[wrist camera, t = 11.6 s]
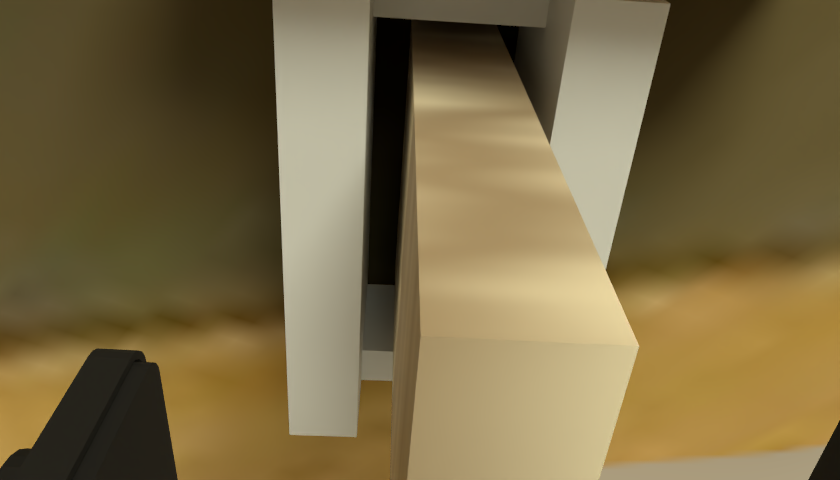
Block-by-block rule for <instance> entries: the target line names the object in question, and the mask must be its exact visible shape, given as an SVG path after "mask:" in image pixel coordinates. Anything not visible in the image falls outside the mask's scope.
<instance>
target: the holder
mask: <svg viewBox="0 0 840 480" xmlns="http://www.w3.org/2000/svg"><path fill="white" fill-rule="evenodd" d="M272 1H273V27H274V52H275V78H276V103H277V129H278V154H279V180H280V206H281V231H282V257H283V282H284V308H285V333H286V359H287V384H288V410H289V435H310V436H339V437H357V427H358V415H359V402H360V389H361V380H380V381H392V380H393V339H394V298H395V285H378V284H368V259H369V231H370V203H371V175H372V147H373V119H374V91H375V63H376V35H377V17H386V18H401V19H417V20H432V21H447V22H463V23H478V24H494V25H509V26H519V31H518V38H517V45H516V52H515V60H514V66H515V68H516V70H517V72H518V75H519V77H520V79H521V81H522V84H523V86H524V88H525V90H526V93H527V95H528V97H529V99H530V102H531V104H532V106H533V108H534V111H535V113H536V115H537V117H538V120H539V122H540V124H541V126H542V129H543V131H544V133H545V135H546V138H547V140H548V142H549V144H550V147H551V149H552V151H553V153H554V156H555V158H556V160H557V162H558V165H559V167H560V169H561V171H562V174H563V176H564V178H565V180H566V183H567V185H568V187H569V189H570V192H571V194H572V196H573V198H574V201H575V203H576V205H577V207H578V210H579V212H580V214H581V216H582V219H583V221H584V223H585V225H586V228H587V230H588V232H589V234H590V237H591V239H592V241H593V243H594V246H595V248H596V250H597V252H598V255H599V257H600V259H601V261H602V264H603V266H604V268H605V270H606V266H607V262H608V258H609V254H610V250H611V245H612V241H613V237H614V233H615V229H616V225H617V221H618V217H619V213H620V209H621V205H622V201H623V197H624V192H625V188H626V184H627V180H628V176H629V172H630V168H631V164H632V160H633V156H634V152H635V148H636V143H637V139H638V135H639V131H640V127H641V123H642V119H643V115H644V111H645V107H646V103H647V99H648V94H649V90H650V86H651V82H652V78H653V74H654V70H655V66H656V62H657V58H658V54H659V50H660V45H661V41H662V37H663V33H664V29H665V25H666V21H667V17H668V13H669V9H670V5H671V4H670V3H669V2H667V1H666V0H272Z"/></svg>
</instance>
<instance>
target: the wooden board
mask: <svg viewBox="0 0 840 480" xmlns="http://www.w3.org/2000/svg"><path fill="white" fill-rule="evenodd" d="M638 348H639V345H638V342H637V340H636V338H635V336H634V333H633V331H632V329H631V327H630V324H629V322H628V320H627V318H626V315H625V313H624V311H623V309H622V306H621V304H620V302H619V300H618V297H617V295H616V293H615V291H614V288H613V286H612V284H611V282H610V279H609V277H608V275H607V273H606V270H605V268H604V266H603V264H602V261H601V259H600V257H599V255H598V252H597V250H596V248H595V246H594V243H593V241H592V239H591V237H590V234H589V232H588V230H587V228H586V225H585V223H584V221H583V219H582V216H581V214H580V212H579V210H578V207H577V205H576V203H575V201H574V198H573V196H572V194H571V192H570V189H569V187H568V185H567V183H566V180H565V178H564V176H563V174H562V171H561V169H560V167H559V165H558V162H557V160H556V158H555V156H554V153H553V151H552V149H551V147H550V144H549V142H548V140H547V138H546V135H545V133H544V131H543V129H542V126H541V124H540V122H539V120H538V117H537V115H536V113H535V111H534V108H533V106H532V104H531V102H530V99H529V97H528V95H527V93H526V90H525V88H524V86H523V84H522V81H521V79H520V77H519V75H518V72H517V70H516V68H515V66H514V63H513V61H512V59H511V57H510V54H509V52H508V50H507V48H506V45H505V43H504V41H503V39H502V36H501V34H500V32H499V30H498V27H497V25H494V24H478V23H463V22H447V21H432V20H417V19H411V34H410V49H409V64H408V79H407V95H406V110H405V125H404V140H403V155H402V170H401V186H400V201H399V216H398V231H397V246H396V261H395V298H394V339H393V380H392V421H391V462H390V480H599V478H600V474H601V471H602V468H603V464H604V461H605V458H606V454H607V451H608V448H609V444H610V441H611V438H612V435H613V431H614V428H615V425H616V421H617V418H618V415H619V411H620V408H621V405H622V401H623V398H624V395H625V391H626V388H627V385H628V381H629V378H630V375H631V371H632V368H633V365H634V362H635V358H636V355H637V352H638Z"/></svg>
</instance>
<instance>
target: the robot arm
mask: <svg viewBox="0 0 840 480" xmlns="http://www.w3.org/2000/svg"><path fill="white" fill-rule="evenodd" d="M0 480H178V479H177V473H176V467H175V461H174V455H173V449H172V443H171V437H170V431H169V425H168V419H167V413H166V407H165V401H164V395H163V389H162V383H161V377H160V371H159V367H158V365H157V364H156V363H150V362H146V359H145V355H144V354H143V353H142V351H134V350H115V349H95V350H93V351H92V352H91V354H90V355H89V356H88V358H87V359H86V361H85V362H84V364H83V366H82V367H81V369H80V371H79V372H78V374H77V375H76V377H75V379H74V380H73V382H72V384H71V385H70V387H69V389H68V390H67V392H66V393H65V395H64V397H63V398H62V400H61V402H60V403H59V405H58V407H57V408H56V410H55V411H54V413H53V415H52V416H51V418H50V420H49V421H48V423H47V424H46V426H45V428H44V429H43V431H42V433H41V434H40V436H39V438H38V439H37V441H36V442H35V444H34V446H33V447H32V449H19V450H18V451H16V452H15V453H13V454H12V455H11V456H10V457H9V458H8V459H7V461H6V462H5V463H4V464H3V466H2V467H1V468H0ZM809 480H840V421H839V423H838V425H837V427H836V429H835V430H834V432H833V434H832V436H831V438H830V440H829V442H828V444H827V446H826V447H825V450H824V451H823V453H822V455H821V457H820V459H819V461H818V463H817V465H816V466H815V468H814V470H813V472H812V474H811V476H810V478H809Z"/></svg>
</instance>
